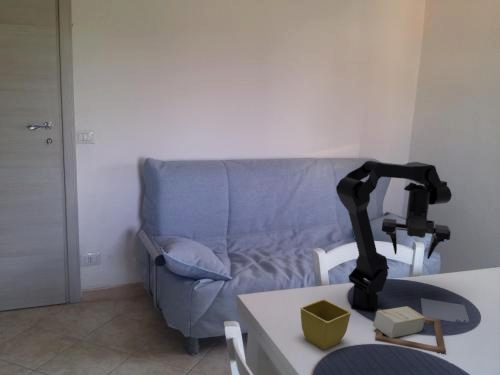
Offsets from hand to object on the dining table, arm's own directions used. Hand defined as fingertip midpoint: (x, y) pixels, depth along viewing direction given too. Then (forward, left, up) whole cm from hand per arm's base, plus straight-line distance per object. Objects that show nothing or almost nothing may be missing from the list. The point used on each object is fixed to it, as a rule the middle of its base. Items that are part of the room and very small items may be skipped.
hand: (411, 256), depth 133 cm
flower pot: (-20, -36, -13) cm, 43 cm away
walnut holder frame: (0, -23, -13) cm, 26 cm away
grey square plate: (+10, -7, -13) cm, 18 cm away
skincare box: (+1, -18, -11) cm, 21 cm away
